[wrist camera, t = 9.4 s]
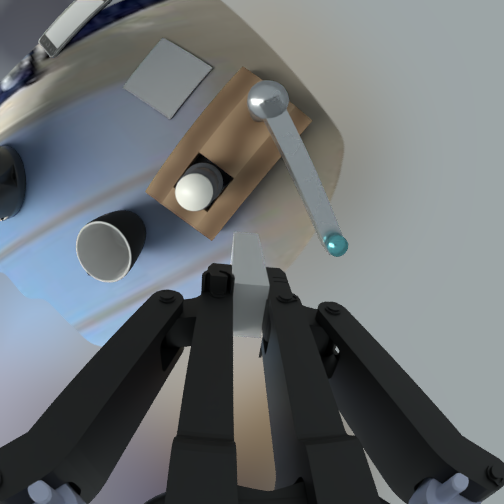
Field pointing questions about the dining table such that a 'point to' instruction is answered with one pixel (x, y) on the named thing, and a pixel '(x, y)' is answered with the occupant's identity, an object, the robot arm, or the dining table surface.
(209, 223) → the socket block
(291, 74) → the dining table surface
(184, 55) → the mat
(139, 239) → the mug
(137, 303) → the dining table surface
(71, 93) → the dining table surface
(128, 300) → the dining table surface
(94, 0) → the smartphone
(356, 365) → the robot arm
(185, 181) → the plug
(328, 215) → the crank
